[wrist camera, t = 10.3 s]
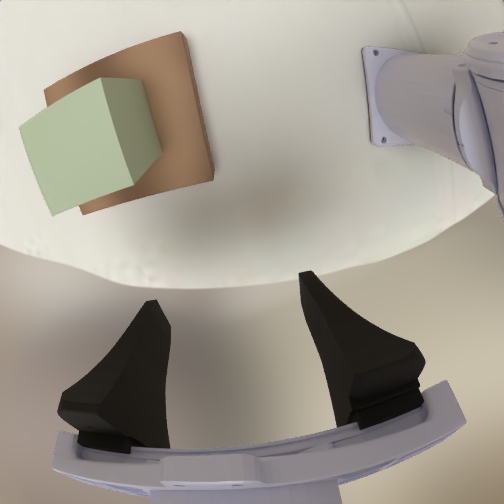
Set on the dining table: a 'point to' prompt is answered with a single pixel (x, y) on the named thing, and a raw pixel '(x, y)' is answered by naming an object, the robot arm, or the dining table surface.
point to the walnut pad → (155, 114)
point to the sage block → (91, 142)
